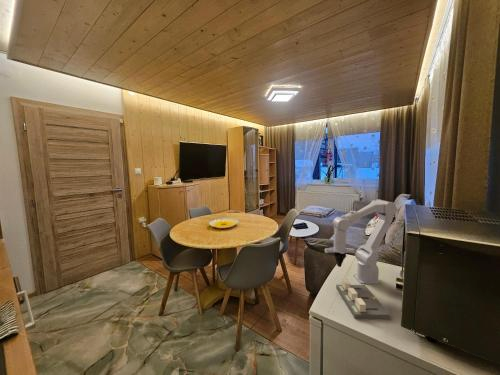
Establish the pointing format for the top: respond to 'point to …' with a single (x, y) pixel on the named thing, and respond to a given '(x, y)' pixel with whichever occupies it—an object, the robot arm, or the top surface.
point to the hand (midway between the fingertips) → (339, 265)
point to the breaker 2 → (360, 304)
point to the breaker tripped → (352, 293)
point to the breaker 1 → (346, 284)
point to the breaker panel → (372, 304)
